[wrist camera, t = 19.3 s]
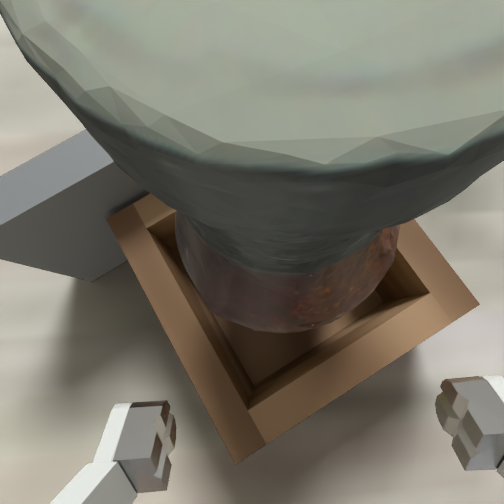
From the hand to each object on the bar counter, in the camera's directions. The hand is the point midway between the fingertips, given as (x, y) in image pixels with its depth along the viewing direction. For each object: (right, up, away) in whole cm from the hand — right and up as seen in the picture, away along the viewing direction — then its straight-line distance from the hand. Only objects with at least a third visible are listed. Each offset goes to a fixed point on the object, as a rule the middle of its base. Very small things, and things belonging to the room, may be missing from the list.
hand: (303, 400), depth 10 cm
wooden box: (0, +3, +12) cm, 12 cm away
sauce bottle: (0, +3, +11) cm, 12 cm away
